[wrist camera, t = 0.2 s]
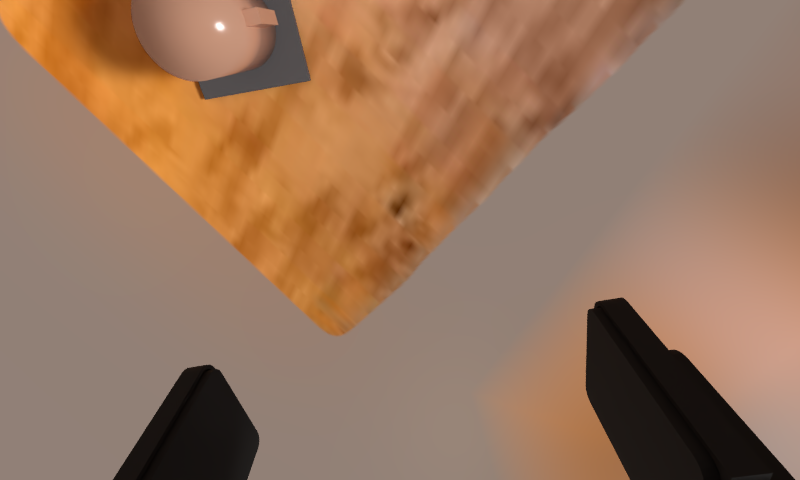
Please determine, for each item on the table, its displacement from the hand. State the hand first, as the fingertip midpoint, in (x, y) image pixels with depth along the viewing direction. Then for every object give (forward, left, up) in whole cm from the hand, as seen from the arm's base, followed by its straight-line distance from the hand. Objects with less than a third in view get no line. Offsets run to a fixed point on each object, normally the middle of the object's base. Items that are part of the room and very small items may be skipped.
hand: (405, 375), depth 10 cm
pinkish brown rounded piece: (-10, -13, -30) cm, 34 cm away
